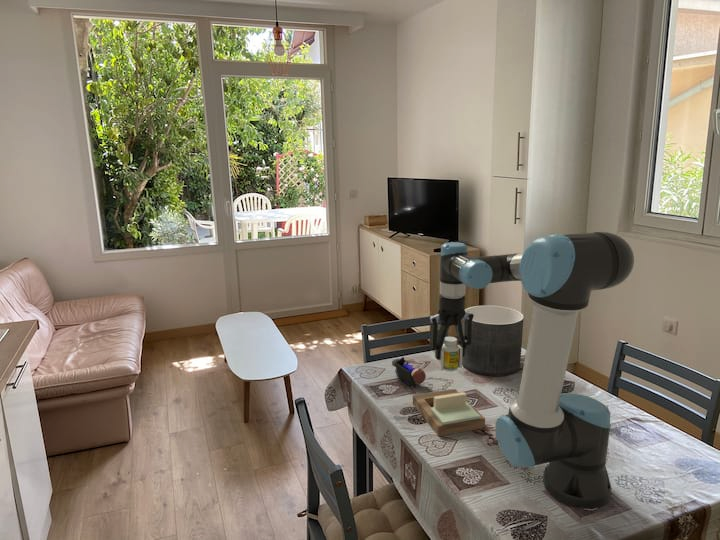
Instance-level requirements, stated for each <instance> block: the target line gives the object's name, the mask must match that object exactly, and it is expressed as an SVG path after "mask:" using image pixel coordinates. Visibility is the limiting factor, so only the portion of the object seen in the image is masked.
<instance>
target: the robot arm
mask: <svg viewBox="0 0 720 540" xmlns="http://www.w3.org/2000/svg"><path fill="white" fill-rule="evenodd" d="M468 253H469V251H468V246H467V244H466V243H463V242H459V241H458V242H455V241H453V242H452V241H450V242H444V243H443V244H442V245H441V247H440V255H439V257H440V259H439V260H440V261H439V263H440V264H439V265H440V266H439V268H440V269H439V270H440V271H439V297H438V299H439V301H438V303H439V304H438V307H439V308H438V309H439V310H438V312H437V314H435V315H429V316H428V318H429V322H430V325H429V326H430V328H429V329H430V330H429V347H430V348H431V349H432V350H434V354H435V355H434V356H435V357H434V358H435V359H436V360H437V368H438V369H439V370H440V371H441V372H442V371H444V370H443V366H444V350H443V349H442V346H443V344H444V340H445V337H447V336H446V335H447V334H448V330H449V329H450V327H451V326H454V329H455V333H456V338H457V343H458V344H457V345H458V346H459V364H458V369H462V367H463V365H462V357H464V355H465V348H467V345H470V344H471V339H472V319H473V317H474V315H473V314H472V313H470V312H469V311H468V312H465V309H466V308H465V307H466V296H465V295H466V293H467V292H466V289H467V287H469V288H473V289H475V290H482V289H484V288H485V287H487V286H488V285H489V284H495V283H504V282H506V283H507V282H519V281H520V283H521V285H522V287H523V289H524V290H525V292H527V298H528V299H529V300H530V302H531V303H532V304H533V309H532V313H531V320H530V326H529V331H528V338H527V345H526V351H525V356H524V361H523V366H522V367H523V368H522V374H521V381H520V385H519V392H518V395H516V396H515V397H513V398H512V399H511V401H510V403H509V409H508V412H507V414H501V415H500V416H498V417H497V418H496V419H495V426H494V429H495V436H496V439H497V443H498V445H499V448H500V449H501V452H502V453H503V455H504V457H505V458H506V460H507V461H509V463H510V464H512V466H515V467H517V468H529V467H531V468H533V467H535V466H539V465H543V464H548V465H547V466H546V467H545V469H544V471H543V481H542V483H543V486H544V489H545V490H546V492H548V494H549V495H550V496H552V497H553V499H556V500H558V501H559V502H560V503H563V504H565V505H567V506H570V507H573V508H580V509H589V510H591V509H597V508H601V507H604V506H605V505H607V504H608V503H609V502H610V499H611V493H612V485H611V481H610V477H609V474H608V470H607V467H606V464H607V455H608V447H609V439H610V432H611V426H612V425H611V411H610V410H609V407H607V406H606V405H605V404H604V403H602V401H599V400H597V399H596V398H593V397H590V396H588V395H583V394H579V393H573V392H571V393H570V392H569V393H562V391H563V388H564V387H563V386H564V382H565V378H566V373H567V372H566V371H567V369H568V368H567V367H568V363H569V358H570V353H571V348H572V344H573V339H574V333H575V329H576V325H577V320H578V314H579V313H580V312H582V311H585V310H586V309H587V308H588V307H589V302H590V297H591V294H592V292H593V291H601V290H606V289H610V288H614V287H616V286H619V285H620V284H622V283H623V282H625V281H626V280H627V279H628V277H629V276H630V275H631V273H632V271H633V269H634V265H635V256H634V251H633V249H632V247H631V246H630V244H629V243H628V242H627V241H626V239H624V238H623V237H621V236H619V235H617V234H614V233H612V232H608V231H607V232H605V231H595V232H585V233H584V232H582V233H569V234H561V233H560V234H559V233H558V234H552V235H547V236H541V237H538V238H536V239H535V240H533V241H532V242H530V243H529V244H528V245H527V247H526V248H525V249H524V251H523V252H517V253H508V254H498V255H496V254H495V255H485V256H471V255H469V254H468ZM463 317H464V318H465V321H464V335H463V330H462V319H463ZM439 320H440V324H439V325H440V326H439V331H438V323H439Z"/></svg>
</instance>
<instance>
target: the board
mask: <svg viewBox="0 0 720 540" xmlns="http://www.w3.org/2000/svg"><path fill="white" fill-rule="evenodd" d="M454 393H460V392H459V391H458V390H457V389H456V388H452V389H451V388H450V389H446V390H445V389H444V390H438V391H434V392H433V391H431V392H427V393H420V394H412V405H413V406H414V407H415V409H416V410H417V412H419V414H420V415H421V416H422V418H423V419H424V421H426V423H427V424H428V425H429V426H430V428H431V429H432V430H433V432H434V433H435V434H436V436H438V437H441V436H446V435H450V434H457V433H463V432H468V431H475V430H479V429H485V428H486V418H485V417H484V416H483V414H481V413H480V412H479V411H478V410H477V409H476V408H475V407H474V406H473V404H471V403H470V402H469V401H468V400H467V399H466V402H467V403H468V404H469V405H470V406H471V407H472V408H473V409H474V410H475V411H476V412H477V413H478V414H479V415H480V419H475V420H469V421H463V422H457V423H451V424H445V425H443V424H442V423H441V422H440V421H439V420H438V418H437V417H436V416H435V415H434V414H433V412H432V411H431V410H430V408H431V407H434V397H435V396H441V395H448V394H454Z"/></svg>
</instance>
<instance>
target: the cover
mask: <svg viewBox="0 0 720 540" xmlns="http://www.w3.org/2000/svg"><path fill="white" fill-rule="evenodd" d="M466 400H467V393H466V392H465V391H461V392H459V393H454V394H448V395H441V396H435V397H434V407H431V408H430V410H431V411H432V412H433V414H434V415H435V416H436V417H437V418H438V420H439V421H440V422H441V423H442V424H443V425H445V424H451V423H457V422H463V421H469V420H475V419H480V415H479V414H478V413H477V412H476V411H475V410H474V409H473V408H472V407H471V406H470V405H469V404H468V403H467V402H466Z"/></svg>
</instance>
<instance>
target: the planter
mask: <svg viewBox="0 0 720 540" xmlns="http://www.w3.org/2000/svg"><path fill="white" fill-rule="evenodd" d="M464 310H465V312H468V311H469V312H470V313H472V314H473V315H474V317H473V319H472V339H471V344H470V345H467V348H465V355H464V357H462V367H463V368H464V369H466V370H468V371H469V372H472V373H474V374H478V375H481V376H489V377H505V376H510V375H513V374H515V373H517V372H519V370H520V369H521V359H522V348H523V346H522V345H523V332H524V314H523V313H522V312H520V311H518V310H517V309H514V308H510V307H506V306H499V305H475V306H470V307H467V308H464ZM464 321H465V318H464V317H463V319H462V320H461V324H462V330H463V335H464Z"/></svg>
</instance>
